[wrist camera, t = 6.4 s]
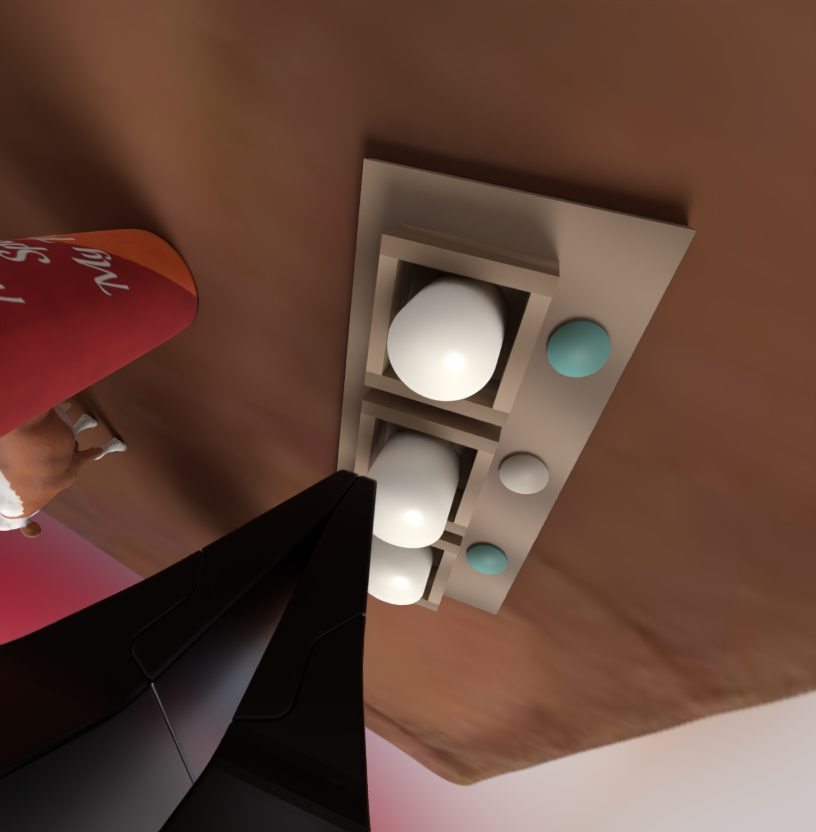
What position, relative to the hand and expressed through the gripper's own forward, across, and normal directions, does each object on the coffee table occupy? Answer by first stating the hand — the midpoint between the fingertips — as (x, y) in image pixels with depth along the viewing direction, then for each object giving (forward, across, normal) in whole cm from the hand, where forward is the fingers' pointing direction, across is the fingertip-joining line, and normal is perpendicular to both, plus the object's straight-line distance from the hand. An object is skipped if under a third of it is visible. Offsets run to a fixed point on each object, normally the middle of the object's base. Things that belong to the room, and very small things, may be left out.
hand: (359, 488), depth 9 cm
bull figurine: (+12, +24, +14) cm, 30 cm away
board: (+12, -1, +7) cm, 14 cm away
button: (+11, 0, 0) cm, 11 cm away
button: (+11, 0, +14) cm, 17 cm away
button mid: (+9, 0, +7) cm, 11 cm away
